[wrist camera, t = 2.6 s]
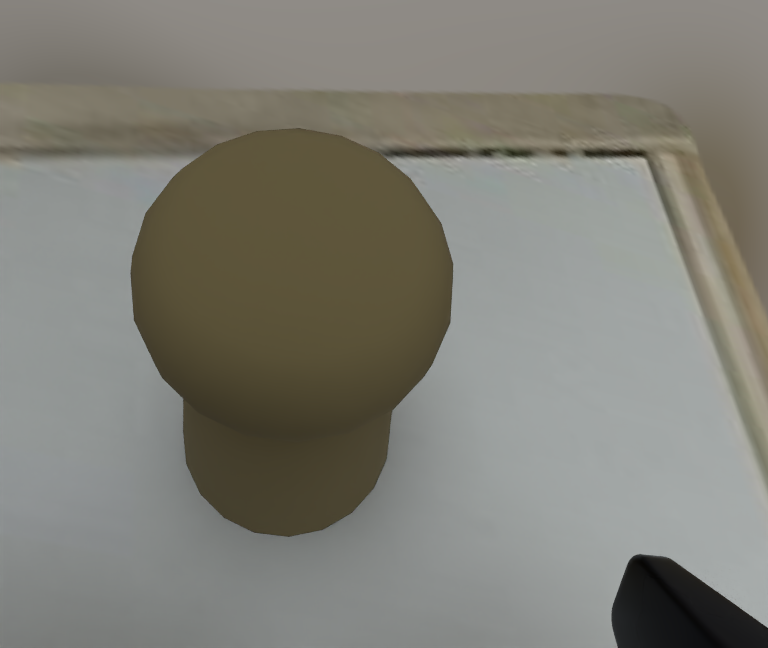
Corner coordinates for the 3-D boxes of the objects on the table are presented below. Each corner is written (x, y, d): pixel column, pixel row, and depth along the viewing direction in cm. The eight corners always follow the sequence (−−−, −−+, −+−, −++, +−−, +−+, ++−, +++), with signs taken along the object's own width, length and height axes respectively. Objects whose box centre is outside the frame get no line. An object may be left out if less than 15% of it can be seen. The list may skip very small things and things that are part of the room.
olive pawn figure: (359, 563, 18) (461, 494, 8) (148, 501, 18) (-17, 353, 8) (410, 368, 20) (533, 133, 11) (227, 312, 20) (178, 22, 10)
